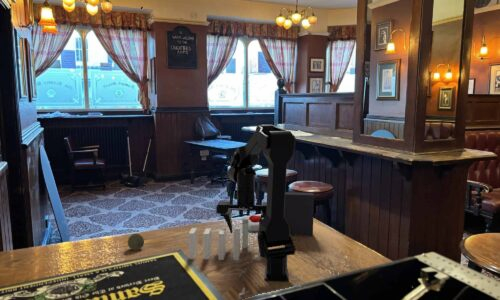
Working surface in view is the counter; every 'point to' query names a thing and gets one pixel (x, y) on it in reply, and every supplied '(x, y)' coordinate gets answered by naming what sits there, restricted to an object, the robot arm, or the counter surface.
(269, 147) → the robot arm
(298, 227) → the dark grey upright block
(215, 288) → the counter surface
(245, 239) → the domino
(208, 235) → the domino
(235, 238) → the domino
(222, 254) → the domino
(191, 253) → the domino
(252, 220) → the red button box
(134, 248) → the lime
